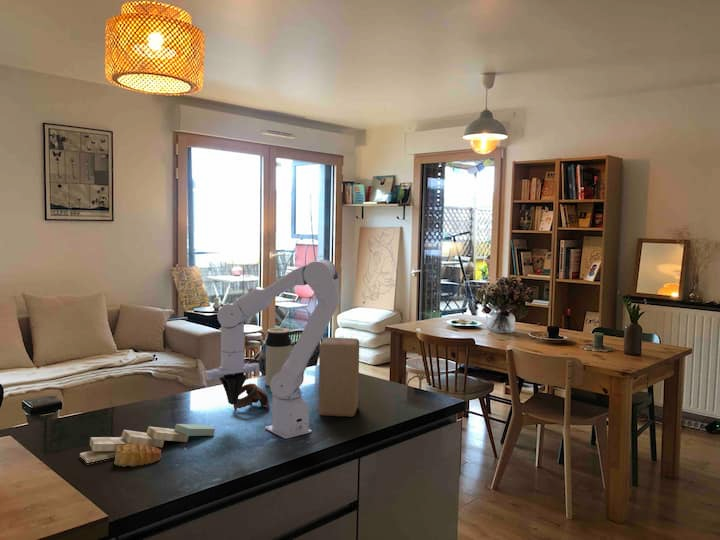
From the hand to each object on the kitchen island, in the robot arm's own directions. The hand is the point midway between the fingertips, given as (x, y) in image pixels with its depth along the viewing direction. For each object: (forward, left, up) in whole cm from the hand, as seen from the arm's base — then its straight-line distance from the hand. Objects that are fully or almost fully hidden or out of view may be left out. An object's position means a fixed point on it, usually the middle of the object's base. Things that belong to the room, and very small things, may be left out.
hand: (232, 403), depth 149 cm
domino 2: (0, +26, -5) cm, 26 cm away
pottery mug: (+10, -11, -6) cm, 16 cm away
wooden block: (-7, -29, -6) cm, 31 cm away
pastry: (-7, +27, -6) cm, 29 cm away
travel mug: (+27, -31, -6) cm, 42 cm away
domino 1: (0, +28, -6) cm, 28 cm away
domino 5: (-1, +7, -5) cm, 9 cm away
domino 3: (-1, +19, -5) cm, 20 cm away
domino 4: (-1, +14, -5) cm, 15 cm away
